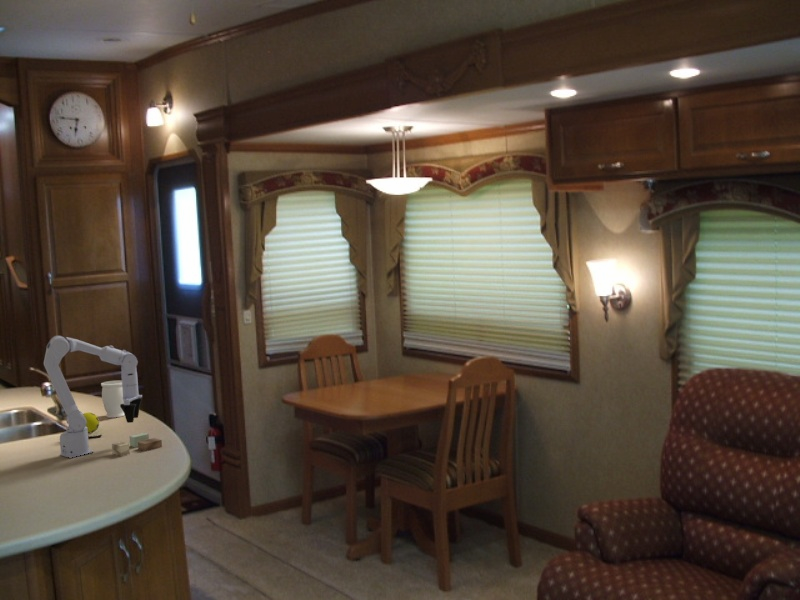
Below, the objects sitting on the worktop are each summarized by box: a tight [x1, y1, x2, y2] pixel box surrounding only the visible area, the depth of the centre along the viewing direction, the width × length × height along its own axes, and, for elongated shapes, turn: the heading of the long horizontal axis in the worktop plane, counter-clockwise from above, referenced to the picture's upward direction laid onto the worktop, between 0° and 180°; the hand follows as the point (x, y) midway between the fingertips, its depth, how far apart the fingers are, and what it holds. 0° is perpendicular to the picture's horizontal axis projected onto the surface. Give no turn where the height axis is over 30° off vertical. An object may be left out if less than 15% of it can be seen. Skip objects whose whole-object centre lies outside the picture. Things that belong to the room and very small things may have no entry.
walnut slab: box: [137, 437, 163, 452], centre depth 336 cm, size 7×5×3 cm
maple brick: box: [111, 441, 131, 457], centre depth 330 cm, size 6×4×4 cm, turn 46°
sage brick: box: [129, 432, 150, 448], centre depth 342 cm, size 6×4×4 cm, turn 136°
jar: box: [100, 379, 125, 419], centre depth 395 cm, size 11×10×15 cm
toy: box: [83, 412, 102, 438], centre depth 368 cm, size 9×10×30 cm
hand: (132, 420), depth 341 cm, fingers open, 7 cm apart
